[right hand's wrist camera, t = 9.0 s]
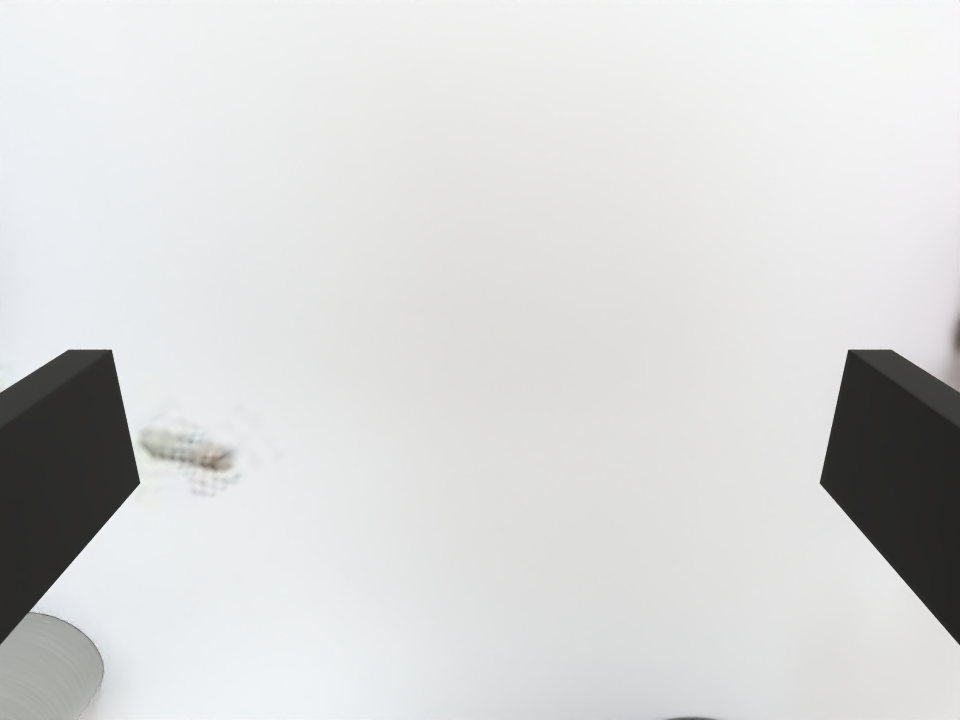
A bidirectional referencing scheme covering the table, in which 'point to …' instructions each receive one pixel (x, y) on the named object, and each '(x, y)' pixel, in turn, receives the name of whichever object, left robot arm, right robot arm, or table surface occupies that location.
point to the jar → (47, 670)
